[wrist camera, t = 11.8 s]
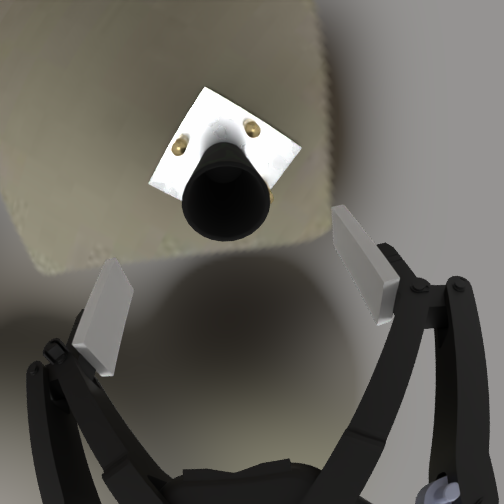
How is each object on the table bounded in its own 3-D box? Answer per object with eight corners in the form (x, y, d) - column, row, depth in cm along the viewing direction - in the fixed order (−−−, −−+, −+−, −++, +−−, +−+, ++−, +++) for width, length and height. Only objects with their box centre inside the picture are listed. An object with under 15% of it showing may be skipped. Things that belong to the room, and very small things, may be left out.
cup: (266, 169, 36) (286, 212, 26) (217, 202, 38) (217, 256, 28) (230, 121, 32) (236, 143, 22) (179, 158, 34) (163, 197, 24)
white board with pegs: (205, 86, 30) (202, 88, 26) (298, 144, 36) (310, 156, 31) (150, 179, 36) (141, 196, 32) (239, 225, 42) (242, 246, 37)
